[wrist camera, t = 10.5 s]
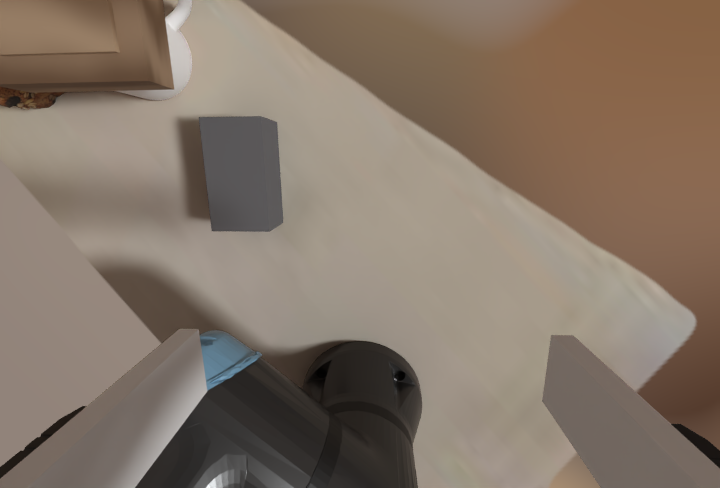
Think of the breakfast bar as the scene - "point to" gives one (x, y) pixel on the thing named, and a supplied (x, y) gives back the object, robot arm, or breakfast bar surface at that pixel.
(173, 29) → the cup
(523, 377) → the breakfast bar surface
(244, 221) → the block
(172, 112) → the breakfast bar surface
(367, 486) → the robot arm
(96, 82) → the lid
